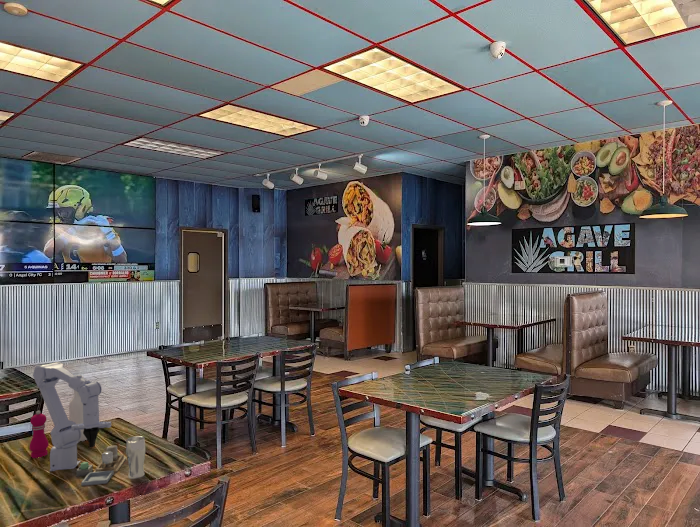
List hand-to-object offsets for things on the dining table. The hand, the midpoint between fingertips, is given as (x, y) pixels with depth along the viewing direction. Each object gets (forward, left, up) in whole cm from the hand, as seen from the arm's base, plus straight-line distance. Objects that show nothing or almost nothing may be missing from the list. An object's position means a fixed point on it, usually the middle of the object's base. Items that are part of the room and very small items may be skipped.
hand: (92, 446), depth 203 cm
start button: (-2, -2, -10) cm, 10 cm away
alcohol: (-18, +42, -11) cm, 47 cm away
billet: (+6, 0, -9) cm, 11 cm away
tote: (+5, -9, -10) cm, 15 cm away
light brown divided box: (+6, +3, -10) cm, 12 cm away
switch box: (-2, -2, -10) cm, 11 cm away
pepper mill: (-29, +24, -11) cm, 39 cm away
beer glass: (+19, -9, -11) cm, 23 cm away
